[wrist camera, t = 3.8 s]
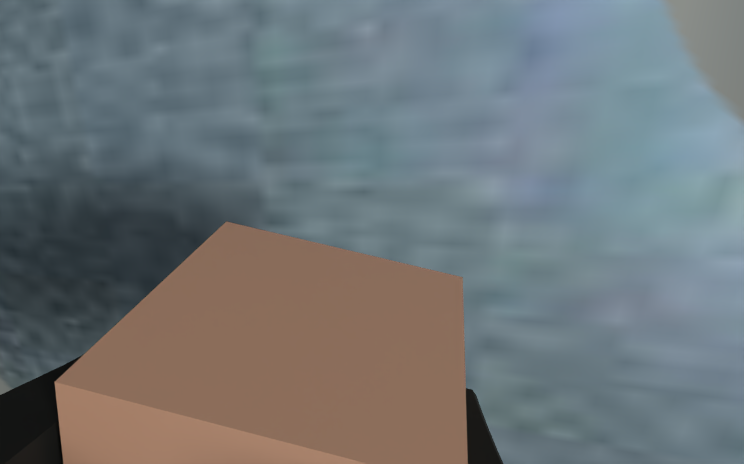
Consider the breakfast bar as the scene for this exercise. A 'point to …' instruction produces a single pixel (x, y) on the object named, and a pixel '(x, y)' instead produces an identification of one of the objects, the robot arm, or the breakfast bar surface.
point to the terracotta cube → (275, 363)
